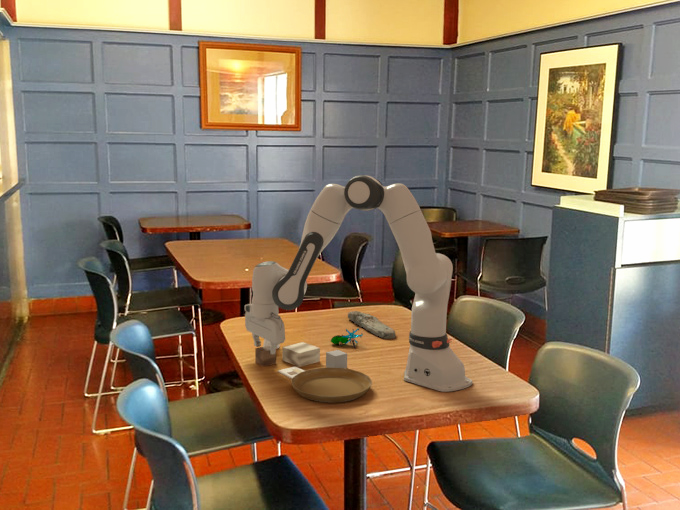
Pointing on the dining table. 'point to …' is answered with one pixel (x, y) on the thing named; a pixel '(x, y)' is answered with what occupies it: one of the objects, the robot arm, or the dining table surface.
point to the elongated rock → (372, 324)
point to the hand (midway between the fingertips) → (264, 349)
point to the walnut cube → (264, 356)
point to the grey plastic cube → (336, 359)
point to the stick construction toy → (346, 338)
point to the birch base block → (301, 354)
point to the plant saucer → (331, 384)
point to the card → (291, 371)
